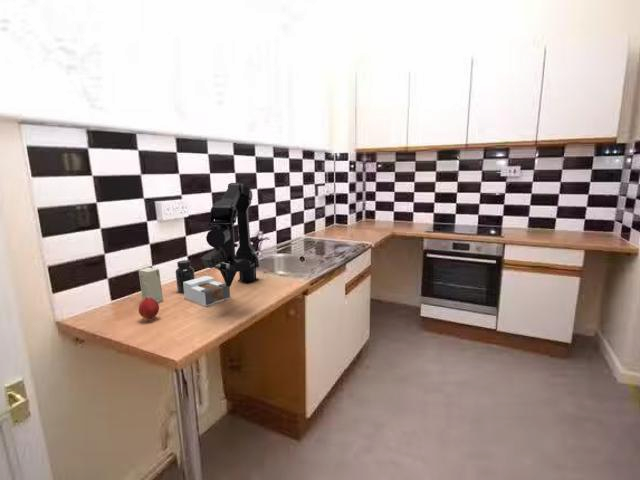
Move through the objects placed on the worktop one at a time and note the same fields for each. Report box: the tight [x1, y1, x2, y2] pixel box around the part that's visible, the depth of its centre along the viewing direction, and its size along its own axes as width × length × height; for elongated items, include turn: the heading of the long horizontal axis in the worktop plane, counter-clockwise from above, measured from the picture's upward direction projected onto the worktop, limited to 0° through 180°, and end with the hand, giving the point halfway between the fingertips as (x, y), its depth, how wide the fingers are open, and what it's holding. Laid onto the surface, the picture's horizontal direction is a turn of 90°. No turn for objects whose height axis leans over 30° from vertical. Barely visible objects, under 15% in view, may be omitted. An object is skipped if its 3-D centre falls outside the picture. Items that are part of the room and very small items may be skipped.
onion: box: [138, 296, 160, 321], centre depth 107 cm, size 6×6×8 cm
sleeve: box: [183, 275, 231, 307], centre depth 125 cm, size 10×14×6 cm
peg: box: [199, 283, 223, 302], centre depth 124 cm, size 4×10×4 cm, turn 52°
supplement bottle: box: [175, 259, 196, 294], centre depth 133 cm, size 7×7×12 cm
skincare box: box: [138, 267, 164, 304], centre depth 122 cm, size 6×4×12 cm
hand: (228, 286), depth 115 cm, fingers closed
